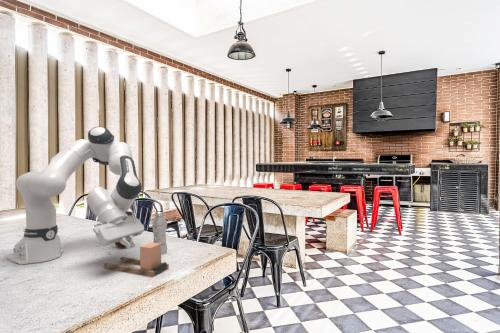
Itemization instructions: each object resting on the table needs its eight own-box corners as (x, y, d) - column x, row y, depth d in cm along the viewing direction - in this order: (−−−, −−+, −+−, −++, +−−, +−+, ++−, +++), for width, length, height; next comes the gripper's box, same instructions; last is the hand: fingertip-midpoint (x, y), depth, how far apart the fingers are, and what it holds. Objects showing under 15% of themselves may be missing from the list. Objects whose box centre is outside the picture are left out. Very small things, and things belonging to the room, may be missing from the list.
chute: (104, 271, 117) (104, 261, 117) (122, 263, 125) (122, 254, 125) (152, 280, 107) (152, 269, 107) (168, 271, 116) (168, 261, 116)
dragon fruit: (124, 253, 145) (119, 250, 155) (138, 240, 149) (132, 238, 159) (112, 240, 143) (108, 238, 152) (127, 228, 147) (121, 227, 157)
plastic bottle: (151, 253, 138) (151, 211, 138) (166, 251, 141) (165, 210, 141) (152, 257, 132) (152, 213, 132) (168, 255, 135) (167, 212, 135)
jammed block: (140, 272, 112) (139, 246, 111) (151, 267, 117) (150, 242, 117) (150, 274, 110) (150, 248, 110) (161, 269, 115) (161, 243, 115)
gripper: (94, 220, 109) (114, 249, 106) (135, 211, 128) (153, 235, 125) (86, 230, 111) (105, 259, 108) (128, 220, 130) (145, 245, 126)
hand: (131, 246), depth 116 cm, fingers closed
